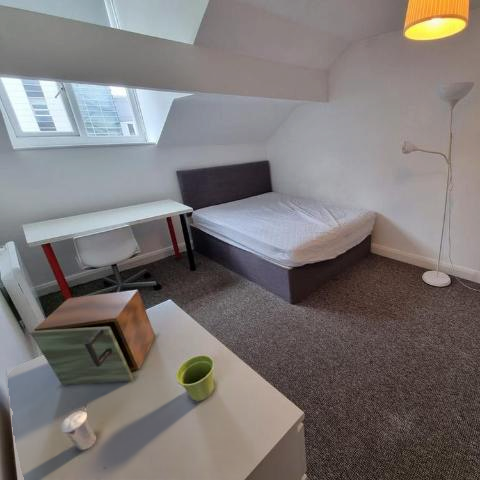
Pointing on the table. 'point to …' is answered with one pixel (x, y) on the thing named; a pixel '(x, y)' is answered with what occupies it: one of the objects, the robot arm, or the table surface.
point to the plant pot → (197, 376)
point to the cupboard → (108, 321)
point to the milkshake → (79, 430)
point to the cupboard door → (83, 355)
